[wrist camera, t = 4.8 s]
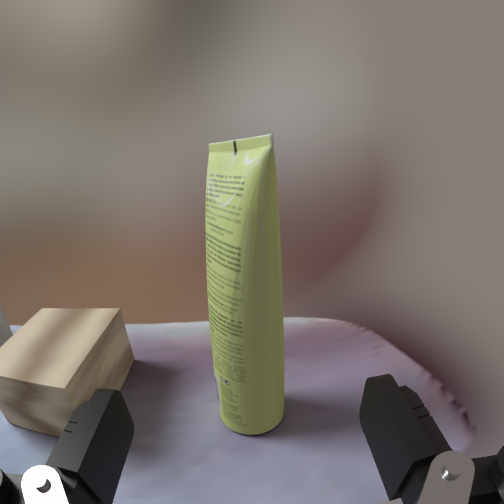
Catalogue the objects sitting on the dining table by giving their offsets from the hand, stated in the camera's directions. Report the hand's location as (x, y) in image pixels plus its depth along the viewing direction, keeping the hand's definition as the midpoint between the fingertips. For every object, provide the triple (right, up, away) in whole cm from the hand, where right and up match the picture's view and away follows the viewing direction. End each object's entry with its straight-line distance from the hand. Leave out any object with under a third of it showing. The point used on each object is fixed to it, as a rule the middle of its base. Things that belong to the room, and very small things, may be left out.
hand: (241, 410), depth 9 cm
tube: (0, -8, +13) cm, 15 cm away
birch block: (-17, -8, +14) cm, 23 cm away
